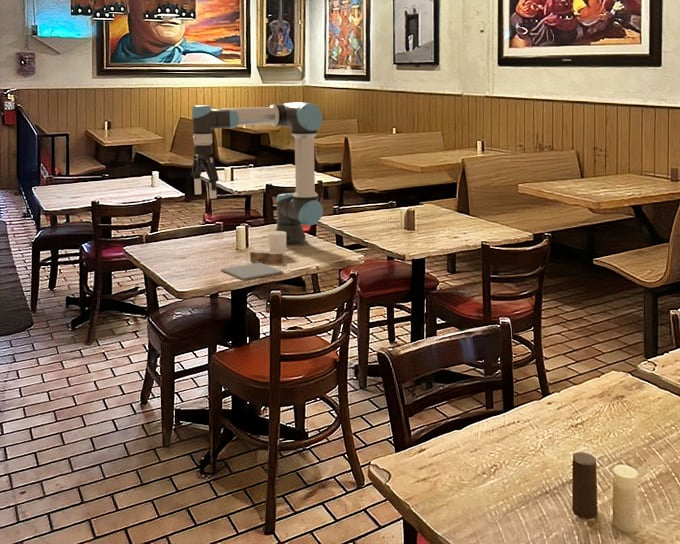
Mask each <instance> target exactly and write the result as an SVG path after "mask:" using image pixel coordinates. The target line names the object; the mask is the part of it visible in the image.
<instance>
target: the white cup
mask: <svg viewBox="0 0 680 544" xmlns="http://www.w3.org/2000/svg"><path fill="white" fill-rule="evenodd" d="M267 235H268V246H269V252H271V253H283V257H284V256H286V253H287V252H286V251H287V245H286V232H284V231H276V230H274V231H273V230H272V231H269V232H268V234H267Z"/></svg>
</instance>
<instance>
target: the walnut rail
mask: <svg viewBox="0 0 680 544" xmlns="http://www.w3.org/2000/svg"><path fill="white" fill-rule="evenodd" d="M249 255H250V262H252V261H258V262H257V263H266V262H270V263H271V264H279V265H281V264H283V263H284V256H283V253H271V252H270V251H269V252H268V251H257V250H255V251H253V250H252V251H250V252H249ZM270 263H269V264H270Z"/></svg>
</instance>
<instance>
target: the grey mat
mask: <svg viewBox="0 0 680 544" xmlns="http://www.w3.org/2000/svg"><path fill="white" fill-rule="evenodd" d="M223 271H224V272H223ZM221 272H223V273H225V272H226V273H225V274H227V273H228V274H227V275H230V276H232V277H235V278H237V279H239V280H242V281H246V280H252V279H253V280H254V279H258V278H264V277H269V276H274V275H280V274H283V273H284V270H281V269H277V268H276V267H272V266H270V265H267V264H264V263H263V262H253V263H249V264H244V265H236V266H232V267H224V268H221Z"/></svg>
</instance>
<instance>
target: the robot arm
mask: <svg viewBox="0 0 680 544" xmlns="http://www.w3.org/2000/svg"><path fill="white" fill-rule="evenodd" d="M191 118H192V119H191V120H192V134H193V135H192V139H193V144H194V146H193V153H194V155H193V161H192V167H191V173H190V176H191V177H193V181H194V183H193V184H194V195H202V176H201V175H202V172H203V170H205V172H206V174H207V177H208V180H209V181H208V187H209V189H208V190H209V199H211V200H212V199H217V198H218V197H217V182H219V180H220V179H219V175H218V171H217V167H216V164H215V157H211V156H210V155H212V154H213V153H214V151H213V150H214V149H213V130H216V129H217V130H219V129H221V130H222V129H233V128H234V129H235V128H238V126H259V125H270V126H272V127H283V128H288V129H290V130H291V131H290V132H291V133H290V134H291V135H292V136H293V138H294V165H295V166H294V168H295V171H294V172H295V176H294V178H295V191H294V192H288V193H280V194H278V195H277V196H276V202H275V203H276V228H275V231H284V232H286V246H290V245H301V244H304V243H306V242H307V239H306V238H307V237H306V234H305V231H304V228H303V225H304V226H313V225H316V224H317V223H318V222H319V221H320V220H321V219H322V217H323V214H324V208H323V205H322V204H321V202H320V201H319V194H318V193H317V192H316V191H315V190H316V186H315V184H316V183H315V175H316V174H315V137H316V136H317V135H318V129H319V128H320V126H321V125H322V122H323V114H322V111H321V109H320V108H319V107H318V106H317V105H316V104H315V103H310V102H297V101H293V102H292V101H291V102H284V103H278V104H275V103H274V104H271V105H270V106H259V107H255V106H254V107H253V106H252V107H231V108H230V107H226V108H225V107H223V108H221V107H220V108H212V107H211V105H201V104H200V105H194V106H193V107H192V109H191Z"/></svg>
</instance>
